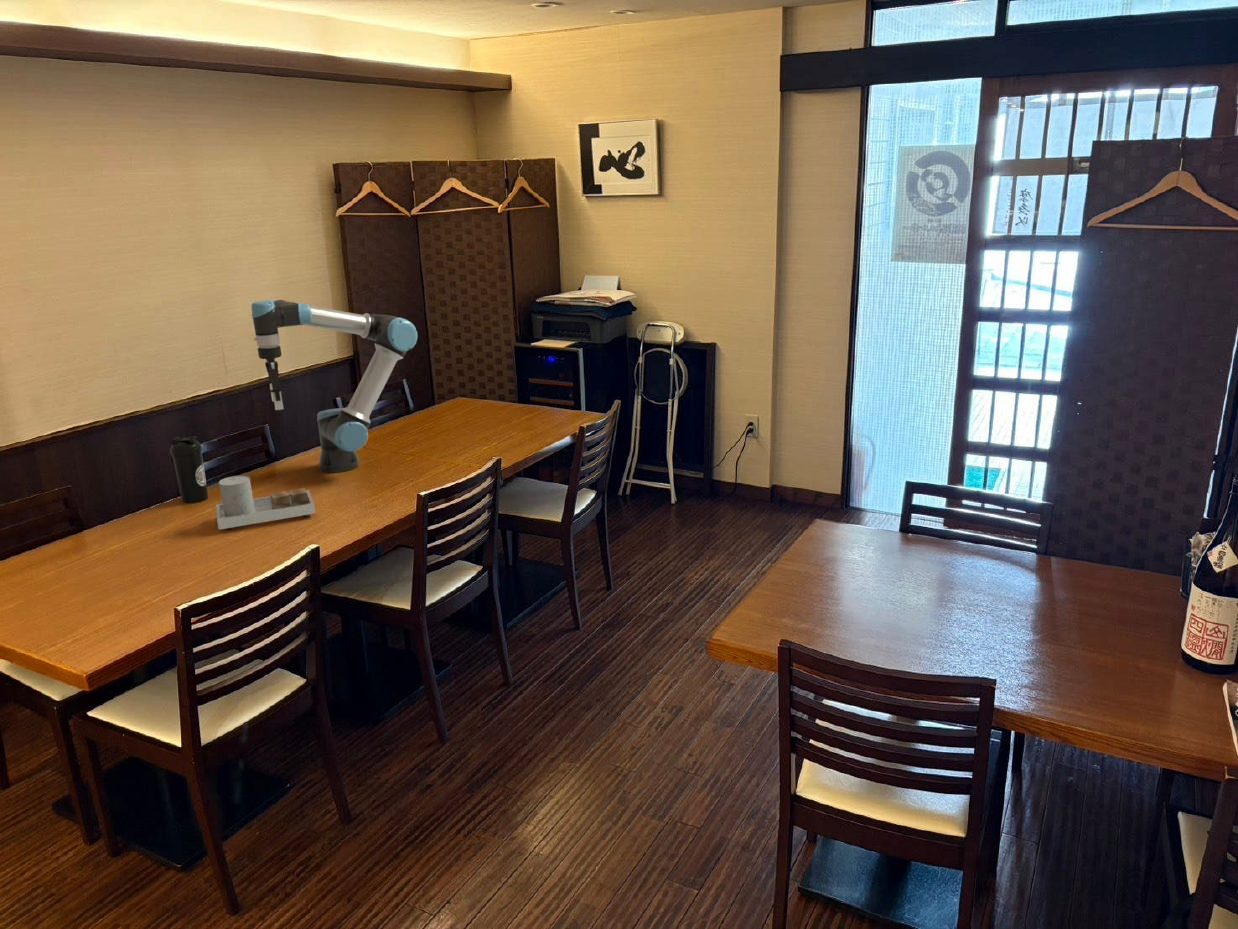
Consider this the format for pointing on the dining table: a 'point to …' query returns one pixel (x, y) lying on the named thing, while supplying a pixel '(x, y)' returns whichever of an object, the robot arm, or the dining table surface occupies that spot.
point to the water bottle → (189, 469)
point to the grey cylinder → (236, 495)
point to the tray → (264, 513)
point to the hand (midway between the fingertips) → (277, 405)
